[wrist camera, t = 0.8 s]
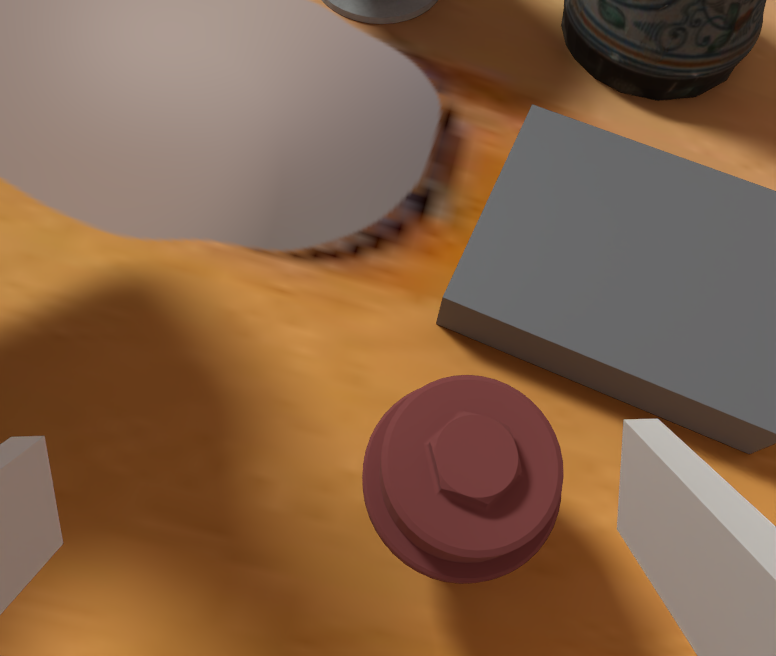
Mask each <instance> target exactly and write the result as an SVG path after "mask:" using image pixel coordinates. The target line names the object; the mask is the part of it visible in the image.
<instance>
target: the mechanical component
mask: <svg viewBox="0 0 776 656" xmlns="http://www.w3.org/2000/svg"><path fill="white" fill-rule="evenodd" d="M562 484H563V460H562V455H561V449H560V446H559V443H558V440H557V437H556V435H555V433H554V431H553V429H552V427H551V425H550V423H549V421H548V420H547V419H546V417H545V416H544V414H543V413H542V412H541V410H540V409H539V408H538V407H537V406H536V405H535V404H534V403H533V402H532V401H531V400H530V399H529V398H527V397H526V396H525V395H523V394H522V393H521V392H520V391H518V390H516V389H514V388H513V387H511V386H509V385H507V384H505V383H502V382H500V381H497V380H495V379H491V378H487V377H483V376H473V375H459V376H451V377H446V378H442V379H439V380H436V381H434V382H431V383H429V384H427V385H425V386H423V387H422V388H420V389H417V390H415V391H413V392H411V393H410V394H408V395H406V396H404V397H403V398H402V399H400V400H399V401H398V402H396V403H395V404H394V405H393V406H392V407H391V408H390V409H389V410H388V411H387V412H386V413H385V414H384V416H383V417H382V418H381V420H380V421H379V423H378V424H377V425H376V427H375V429H374V431H373V433H372V435H371V437H370V440H369V443H368V446H367V449H366V452H365V457H364V463H363V493H364V500H365V505H366V508H367V511H368V514H369V518H370V520H371V522H372V524H373V526H374V528H375V530H376V532H377V533H378V535H379V537H380V538H381V540H382V541H383V543H384V544H385V545H386V546H387V547H388V548H389V550H390V551H391V552H392V553H393V554H394V555H395V556H396V557H397V558H399V559H400V560H401V561H402V562H403V563H404V564H406V565H407V566H409V567H411V568H412V569H414V570H415V571H417V572H419V573H421V574H423V575H426V576H428V577H430V578H433V579H437V580H440V581H444V582H451V583H459V584H464V583H478V582H483V581H488V580H492V579H495V578H498V577H501V576H503V575H506V574H508V573H510V572H512V571H514V570H516V569H517V568H519V567H520V566H522V565H523V564H524V563H526V562H527V561H528V560H529V559H530V558H531V557H533V556H534V555H535V554H536V553H537V552H538V550H539V549H540V548H541V547H542V545H543V544H544V543H545V541H546V540H547V538H548V536H549V534H550V533H551V531H552V529H553V527H554V524H555V521H556V518H557V516H558V512H559V507H560V502H561V491H562Z"/></svg>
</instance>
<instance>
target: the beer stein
mask: <svg viewBox="0 0 776 656" xmlns="http://www.w3.org/2000/svg"><path fill="white" fill-rule="evenodd" d="M765 3H766V0H564V11H563V18H562V24H561V27H562V31H563V35H564V39H565V43H566V46H567V47H568V49H569V51H570V52H571V54H572V56H573V57H574V59H575V60H576V61H577V62H578V63H580V64H581V65H582V66H583V67H584V68H585V69H586V70H587V71H588V72H589V73H590V74H591V75H592V76H593V77H594V78H595V79H597V80H599V81H601V82H603V83H604V84H606V85H608V86H610V87H612V88H614V89H616V90H617V91H619V92H621V93H625V94H630V95H635V96H639V97H644V98H648V99H653V100H658V101H659V100H669V99H680V98H690V97H696V96H698V95H700V94H702V93H704V92H706V91H707V90H709V89H711V88H713V87H715V86H717V85H718V84H720V83H722V82H724V81H726V80H727V79H728V77H729V75H730V74H731V72H732V71H733V69H734V67H735V66H736V65H737V64H738V63H739V62H740V61H741V60H742V59H743V58H744V57H745V56H746V55H747V54H748V53H749V52H750V51H751V49H752V48H753V46H754V44H755V43H756V41H757V39H758V37H759V34H760V31H761V28H762V23H763V12H764V7H765Z"/></svg>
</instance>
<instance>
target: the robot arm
mask: <svg viewBox="0 0 776 656" xmlns="http://www.w3.org/2000/svg"><path fill="white" fill-rule="evenodd" d="M617 530H618V532H619V533H620V535H621V536H622V538H623V539H624V541H625V543H626V544H627V546H628V547H629V549H630V550H631V552H632V554H633V555H634V557H635V558H636V560H637V561H638V563H639V565H640V566H641V568H642V569H643V571H644V572H645V574H646V576H647V577H648V579H649V580H650V582H651V583H652V585H653V587H654V588H655V590H656V591H657V593H658V594H659V596H660V598H661V599H662V601H663V602H664V604H665V605H666V607H667V609H668V610H669V612H670V613H671V615H672V616H673V618H674V620H675V621H676V623H677V624H678V626H679V627H680V629H681V631H682V632H683V634H684V635H685V637H686V638H687V640H688V641H689V643H690V645H691V646H692V648H693V649H694V651H695V652H696V654H697V656H776V526H774V525H773V524H772V523H771V522H770V521H769V520H768V519H767V518H766V517H765V516H764V515H762V514H761V513H760V512H759V511H758V510H757V509H756V508H755V507H754V506H753V505H752V504H750V503H749V502H748V501H747V500H746V499H745V498H744V497H743V496H742V495H741V494H740V493H738V492H737V491H736V490H735V489H734V488H733V487H732V486H731V485H730V484H729V483H728V482H726V481H725V480H724V479H723V478H722V477H721V476H720V475H719V474H718V473H717V472H716V471H714V470H713V469H712V468H711V467H710V466H709V465H708V464H707V463H706V462H705V461H704V460H702V459H701V458H700V457H699V456H698V455H697V454H696V453H695V452H694V451H693V450H692V449H690V448H689V447H688V446H687V445H686V444H685V443H684V442H683V441H682V440H681V439H680V438H678V437H677V436H676V435H675V434H674V433H673V432H672V431H671V430H670V429H669V428H668V427H666V426H665V425H664V424H663V423H662V422H661V421H660V420H659V419H624V421H623V438H622V454H621V470H620V487H619V503H618V520H617ZM62 544H63V539H62V533H61V527H60V522H59V516H58V510H57V504H56V499H55V493H54V487H53V481H52V476H51V470H50V464H49V458H48V453H47V447H46V441H45V436H20V437H10V438H9V439H7V440H6V441H4V442H3V443H1V444H0V615H1V614H2V612H3V611H4V610H5V609H6V608H7V607H8V606H9V604H10V603H11V602H12V601H13V600H14V599H15V598H16V597H17V595H18V594H19V593H20V592H21V591H22V590H23V589H24V587H25V586H26V585H27V584H28V583H29V582H30V581H31V580H32V578H33V577H34V576H35V575H36V574H37V573H38V572H39V571H40V569H41V568H42V567H43V566H44V565H45V564H46V563H47V561H48V560H49V559H50V558H51V557H52V556H53V555H54V554H55V552H56V551H57V550H58V549H59V548H60V547H61V546H62Z"/></svg>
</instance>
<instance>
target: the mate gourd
mask: <svg viewBox="0 0 776 656" xmlns="http://www.w3.org/2000/svg"><path fill="white" fill-rule="evenodd" d="M322 1H323V2H324V3H325V4H326V5H327V6H328V7H329V8H331V9H332V10H333V11H335V12H337V13H339V14H340V15H342V16H344V17H347V18H350V19H353V20H355V21H360V22H365V23H373V24H389V23H398V22H402V21H407V20H410V19H412V18H415V17H417V16H419V15H421V14H423V13H424V12H426V11H428V10H429V9H430V8H431V7H432V6H433V5H434V4H435V3H436V2H437V1H438V0H322Z"/></svg>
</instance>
